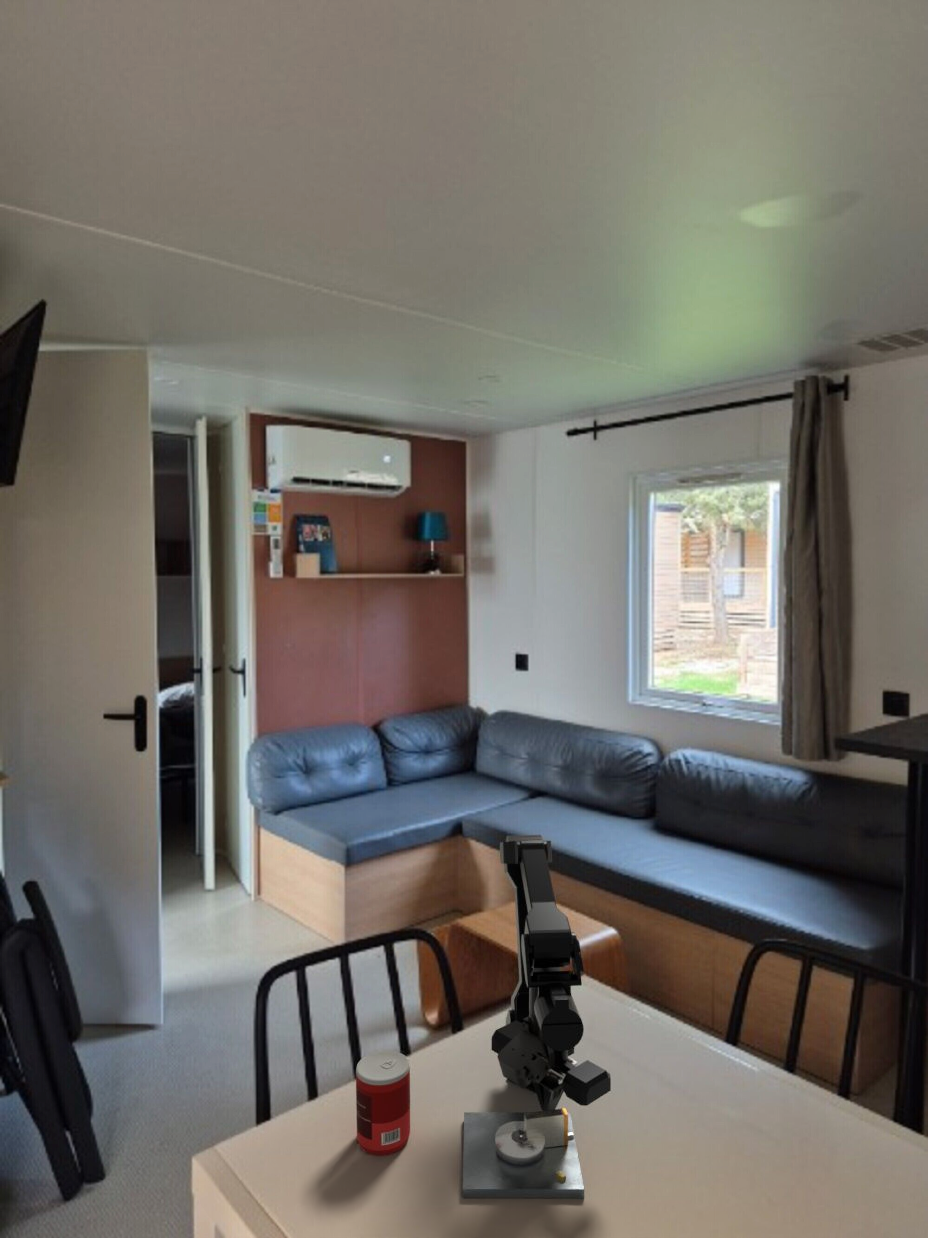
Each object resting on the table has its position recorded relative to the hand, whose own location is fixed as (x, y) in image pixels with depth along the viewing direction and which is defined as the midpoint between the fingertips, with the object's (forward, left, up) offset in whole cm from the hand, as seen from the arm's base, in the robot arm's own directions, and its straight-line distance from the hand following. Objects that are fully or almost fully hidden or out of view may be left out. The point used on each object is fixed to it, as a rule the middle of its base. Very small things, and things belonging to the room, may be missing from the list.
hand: (548, 1117), depth 119 cm
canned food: (-19, -14, -4) cm, 24 cm away
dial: (0, -4, -2) cm, 5 cm away
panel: (-1, -5, -4) cm, 6 cm away
